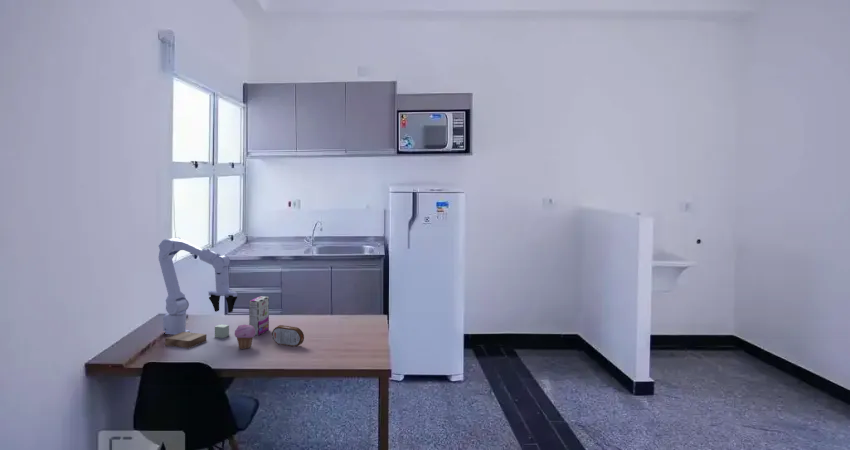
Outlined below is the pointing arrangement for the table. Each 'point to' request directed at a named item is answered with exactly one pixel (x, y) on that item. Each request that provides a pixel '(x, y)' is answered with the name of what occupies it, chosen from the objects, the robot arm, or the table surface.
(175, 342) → the brown flat block
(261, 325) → the candy bar box
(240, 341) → the cupcake
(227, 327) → the sage block
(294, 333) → the tin
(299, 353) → the table surface
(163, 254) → the robot arm
